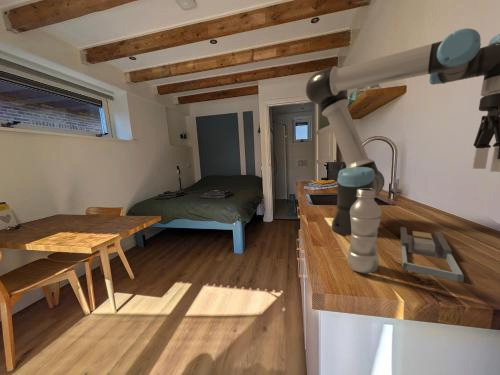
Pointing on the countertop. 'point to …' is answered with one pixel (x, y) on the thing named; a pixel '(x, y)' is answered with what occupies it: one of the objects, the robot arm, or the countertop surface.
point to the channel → (439, 241)
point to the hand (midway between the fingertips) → (487, 170)
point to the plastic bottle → (364, 232)
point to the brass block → (421, 235)
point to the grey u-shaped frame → (454, 275)
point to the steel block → (423, 245)
